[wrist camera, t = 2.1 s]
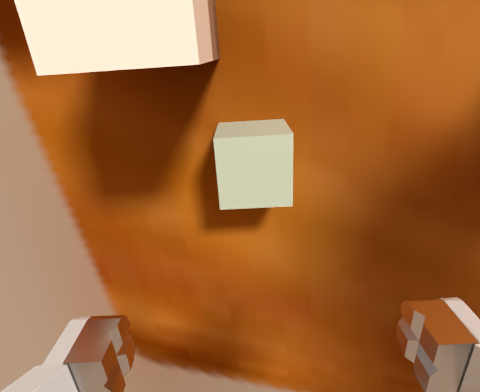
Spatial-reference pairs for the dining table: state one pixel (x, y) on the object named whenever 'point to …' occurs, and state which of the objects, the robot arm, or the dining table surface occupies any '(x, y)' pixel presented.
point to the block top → (115, 34)
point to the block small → (254, 164)
